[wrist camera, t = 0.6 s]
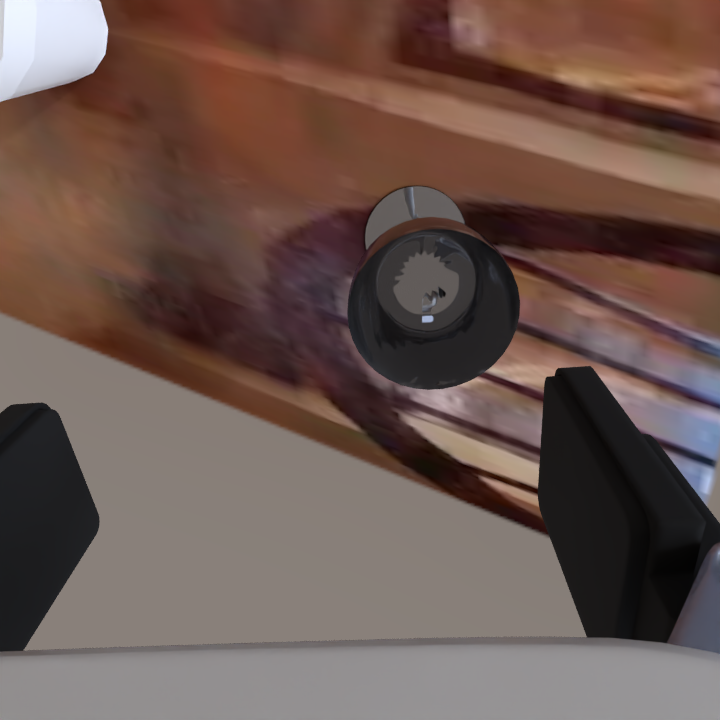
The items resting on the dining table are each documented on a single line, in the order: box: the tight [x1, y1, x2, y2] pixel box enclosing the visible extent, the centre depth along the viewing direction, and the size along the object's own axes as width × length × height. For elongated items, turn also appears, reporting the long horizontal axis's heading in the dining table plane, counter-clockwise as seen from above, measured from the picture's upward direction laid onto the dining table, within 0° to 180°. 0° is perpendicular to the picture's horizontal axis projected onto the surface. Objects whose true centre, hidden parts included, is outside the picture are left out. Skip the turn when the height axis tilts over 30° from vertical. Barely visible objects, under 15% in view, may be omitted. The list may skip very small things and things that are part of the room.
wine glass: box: [348, 186, 520, 390], centre depth 32 cm, size 8×8×15 cm
